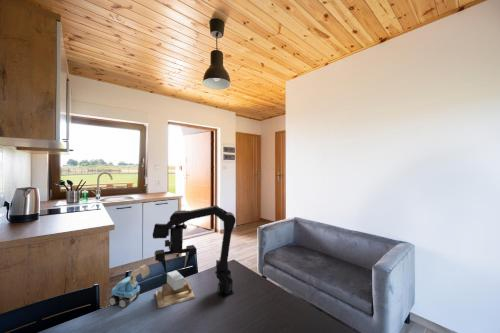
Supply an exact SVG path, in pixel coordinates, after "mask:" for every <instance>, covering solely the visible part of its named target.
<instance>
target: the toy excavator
mask: <svg viewBox="0 0 500 333" xmlns="http://www.w3.org/2000/svg"><path fill="white" fill-rule="evenodd" d="M150 272H151V271H150V267H149V266H148V265H147V264H143V265H141V266H140V267H139V268H137V269H135V270H133V271H131V273H130V276H127V277H125V278H123V279H122V280H120V281H119V282H117V283H116V285H115V286H114V287H113V288H112V289H111V293H110V294H111V296H110V297H109V298H108V304H109V305H110V306H116V305H117V304H118V305H119V308H121V309H124V308H126V307H127V306H128V305H130V303H131V302H133V301H134V300H136V299H137V298H138V297H139V296H140V292H141V291H140V290H141V286H140V285H139V282H138V281H137V276H138V275H141V278H142V279H144V278H146V277H147V276H148V275H149V274H150ZM116 303H117V304H116ZM113 304H115V305H113Z"/></svg>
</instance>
